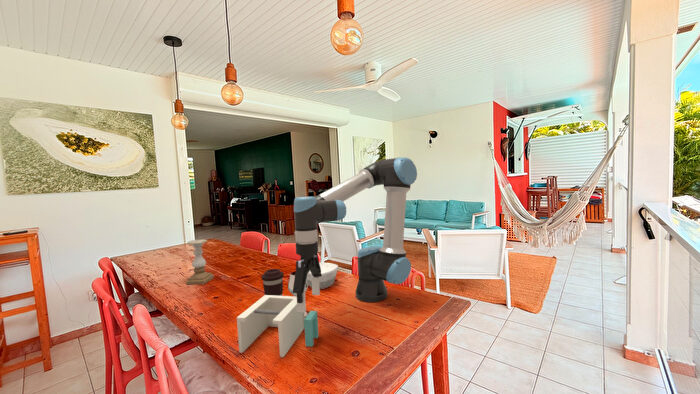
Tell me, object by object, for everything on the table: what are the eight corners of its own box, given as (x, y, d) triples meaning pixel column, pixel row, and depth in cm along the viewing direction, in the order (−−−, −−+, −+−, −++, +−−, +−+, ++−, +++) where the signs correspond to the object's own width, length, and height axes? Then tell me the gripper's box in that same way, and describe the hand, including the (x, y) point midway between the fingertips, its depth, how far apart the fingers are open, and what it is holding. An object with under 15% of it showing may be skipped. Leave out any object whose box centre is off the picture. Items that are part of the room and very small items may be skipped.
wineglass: (300, 321, 111) (297, 277, 109) (285, 317, 115) (282, 274, 114) (313, 313, 117) (311, 271, 116) (299, 309, 122) (296, 268, 121)
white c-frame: (304, 327, 106) (303, 297, 105) (283, 357, 89) (281, 320, 88) (267, 324, 110) (265, 294, 109) (239, 352, 92) (236, 317, 91)
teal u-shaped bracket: (318, 336, 100) (317, 311, 99) (312, 346, 94) (310, 320, 93) (312, 335, 100) (310, 310, 100) (305, 346, 94) (304, 319, 94)
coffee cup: (279, 307, 124) (277, 274, 123) (259, 306, 126) (257, 274, 125) (288, 298, 134) (286, 267, 133) (269, 297, 136) (267, 267, 135)
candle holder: (204, 284, 158) (201, 242, 156) (185, 285, 158) (182, 243, 157) (214, 277, 169) (211, 238, 167) (196, 278, 169) (193, 239, 168)
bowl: (344, 281, 152) (343, 264, 152) (324, 293, 137) (323, 275, 137) (318, 276, 162) (317, 260, 161) (297, 287, 147) (296, 270, 146)
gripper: (309, 234, 108) (311, 288, 109) (279, 250, 83) (282, 319, 85) (328, 234, 106) (330, 289, 107) (302, 251, 82) (305, 321, 83)
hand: (309, 302), depth 96 cm, fingers open, 13 cm apart
